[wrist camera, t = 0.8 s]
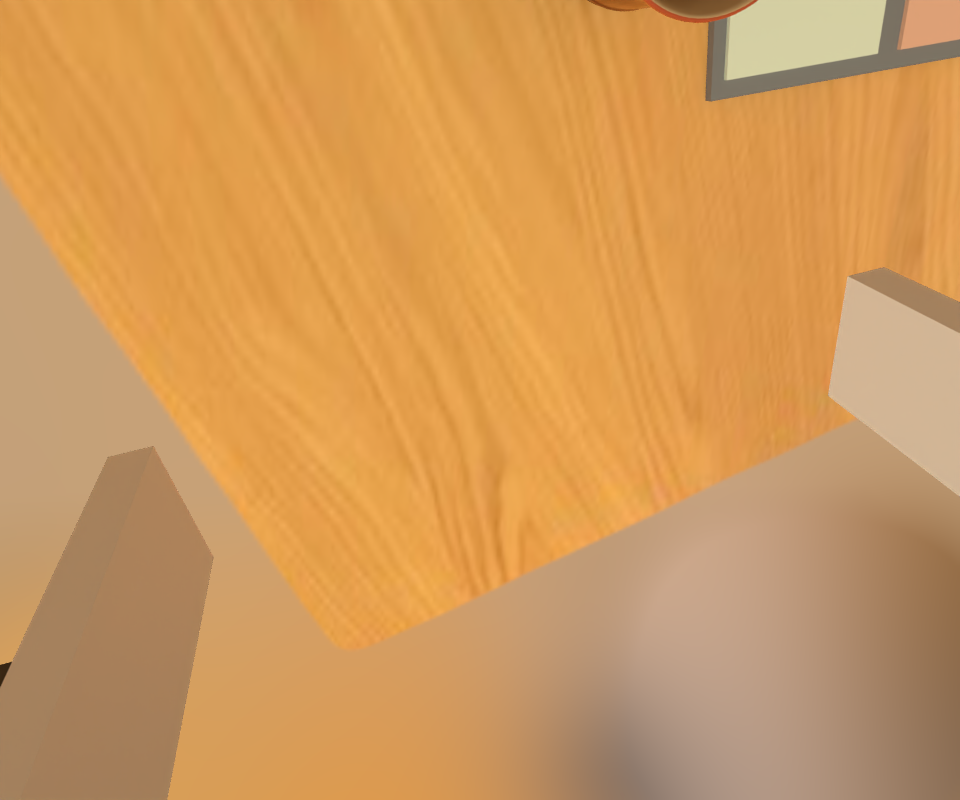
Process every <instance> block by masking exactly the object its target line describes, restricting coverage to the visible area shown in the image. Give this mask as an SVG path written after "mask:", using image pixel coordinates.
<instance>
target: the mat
mask: <svg viewBox="0 0 960 800" xmlns="http://www.w3.org/2000/svg"><path fill="white" fill-rule="evenodd" d="M954 57H960V0H758V1H757V2H755V3H754V4H752V5H751V6H749V7H748V8H746V9H745V10H743V11H741V12H739V13H737V14H735V15H732V16H730V17H727V18H725V19H721V20H717V21H712V22H709V31H708V55H707V79H706V101H715V100H721V99H727V98H732V97H738V96H743V95H749V94H754V93H760V92H765V91H771V90H777V89H782V88H788V87H793V86H799V85H804V84H810V83H816V82H821V81H827V80H832V79H838V78H843V77H849V76H854V75H860V74H866V73H871V72H877V71H882V70H888V69H893V68H899V67H904V66H910V65H916V64H921V63H927V62H932V61H938V60H943V59H949V58H954Z"/></svg>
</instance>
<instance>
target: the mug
mask: <svg viewBox="0 0 960 800" xmlns="http://www.w3.org/2000/svg"><path fill="white" fill-rule="evenodd" d="M588 1H589V2H591V3H593V4H595V5H598V6H601V7H604V8H606V9H610V10H614V11H633V10H638V9H642V8H650V7H652V8H653V9H655V10H656V11H657V12H659V13H661V14H663V15H665V16H667V17H670V18H673V19H676V20H680V21H684V22H693V23H705V22H712V21H717V20H721V19H725V18H727V17H730V16H732V15H735V14H737V13H739V12H741V11H743V10H745V9H746V8H748V7H749V6H751V5H752V4H754V3H755V2H757V1H758V0H588Z"/></svg>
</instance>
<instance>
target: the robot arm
mask: <svg viewBox="0 0 960 800" xmlns="http://www.w3.org/2000/svg"><path fill="white" fill-rule="evenodd" d="M828 396H829V397H830V398H832V399H833V400H834V401H836V402H837V403H838V404H839V405H841V406H842V407H843V408H845V409H846V410H847V411H849V412H850V413H851V414H853V415H854V416H855V417H856V418H858V419H859V420H860V421H862V422H863V423H864V424H866V425H867V426H868V427H870V428H871V429H872V430H873V431H875V432H876V433H878V434H879V435H880V436H881V437H883V438H884V439H885V440H887V441H888V442H889V443H891V444H892V445H893V446H895V447H896V448H897V449H898V450H900V451H901V452H902V453H904V454H905V455H906V456H907V457H909V458H910V459H911V460H913V461H914V462H915V463H917V464H918V465H919V466H921V467H922V468H923V469H924V470H926V471H927V472H928V473H930V474H931V475H932V476H934V477H935V478H937V479H938V480H939V481H940V482H942V483H943V484H944V485H945V486H947V487H948V488H949V489H951V490H952V491H953V492H955V493H956V494H957V495H959V496H960V302H958V301H956V300H954V299H952V298H949V297H947V296H945V295H943V294H941V293H939V292H936V291H934V290H932V289H930V288H928V287H926V286H923V285H921V284H919V283H917V282H915V281H913V280H910V279H908V278H906V277H904V276H902V275H900V274H897V273H895V272H893V271H891V270H889V269H887V268H884V267H883V268H879V269H875V270H871V271H867V272H863V273H859V274H855V275H851V276H848V278H847V284H846V290H845V296H844V302H843V308H842V314H841V320H840V326H839V332H838V338H837V344H836V350H835V356H834V363H833V369H832V375H831V381H830V387H829V393H828ZM212 563H213V555H212V554H211V552H210V550H209V548H208V546H207V544H206V542H205V540H204V539H203V537H202V535H201V533H200V531H199V530H198V528H197V526H196V524H195V522H194V520H193V518H192V516H191V515H190V513H189V511H188V509H187V507H186V505H185V504H184V502H183V500H182V498H181V496H180V495H179V493H178V491H177V489H176V487H175V485H174V483H173V481H172V480H171V478H170V476H169V474H168V472H167V470H166V469H165V467H164V465H163V463H162V461H161V459H160V458H159V456H158V454H157V452H156V450H155V448H154V447H153V446H152V447H148V448H143V449H139V450H135V451H131V452H127V453H123V454H119V455H115V456H111V457H108V459H107V461H106V463H105V465H104V467H103V469H102V471H101V473H100V475H99V478H98V480H97V482H96V484H95V486H94V488H93V490H92V492H91V495H90V497H89V499H88V501H87V503H86V505H85V507H84V510H83V512H82V514H81V516H80V518H79V520H78V522H77V525H76V527H75V529H74V531H73V533H72V535H71V537H70V540H69V542H68V544H67V546H66V548H65V550H64V552H63V554H62V557H61V559H60V561H59V563H58V565H57V568H56V570H55V572H54V574H53V576H52V578H51V580H50V582H49V585H48V587H47V589H46V591H45V593H44V595H43V597H42V599H41V601H40V604H39V606H38V608H37V610H36V612H35V614H34V616H33V619H32V621H31V623H30V625H29V627H28V629H27V631H26V633H25V636H24V638H23V640H22V642H21V644H20V647H19V649H18V651H17V653H16V655H15V657H14V659H13V661H12V662H10V663H6V664H2V665H0V800H167V797H168V792H169V787H170V782H171V777H172V771H173V766H174V761H175V755H176V750H177V745H178V740H179V735H180V730H181V724H182V719H183V714H184V708H185V704H186V698H187V693H188V688H189V683H190V677H191V672H192V667H193V662H194V657H195V651H196V646H197V641H198V635H199V630H200V625H201V620H202V615H203V609H204V604H205V599H206V594H207V589H208V583H209V578H210V573H211V567H212Z"/></svg>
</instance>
